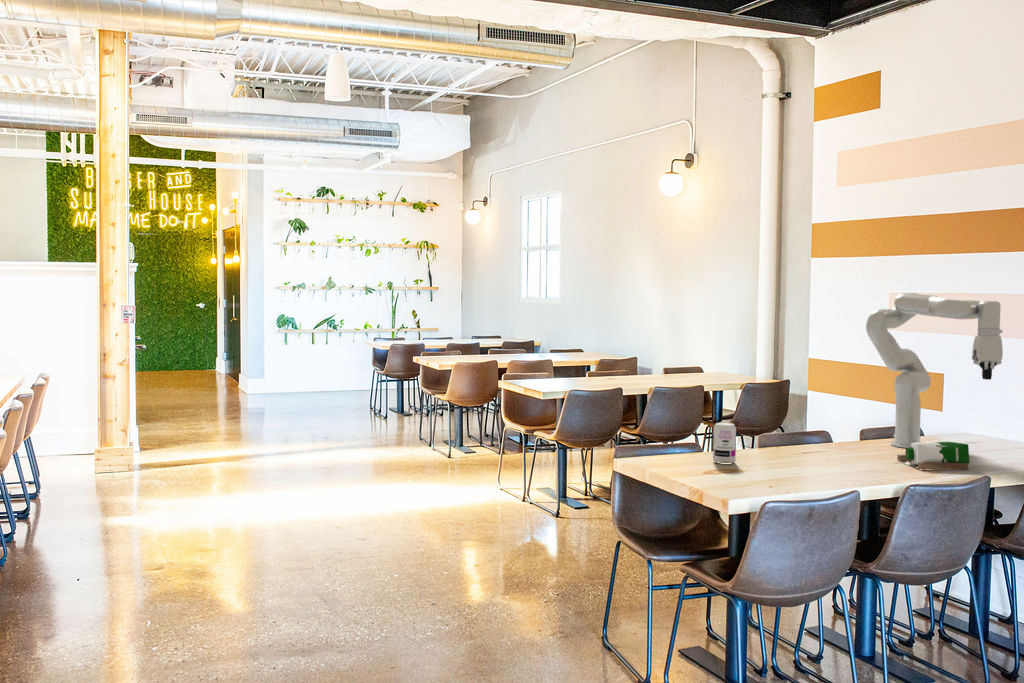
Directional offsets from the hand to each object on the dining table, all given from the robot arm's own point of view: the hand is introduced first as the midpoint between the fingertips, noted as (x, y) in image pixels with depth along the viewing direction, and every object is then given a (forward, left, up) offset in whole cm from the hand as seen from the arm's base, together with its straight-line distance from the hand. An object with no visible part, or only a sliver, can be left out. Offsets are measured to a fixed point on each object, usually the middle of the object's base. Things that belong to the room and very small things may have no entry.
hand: (986, 379), depth 335 cm
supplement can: (+6, -106, -31) cm, 111 cm away
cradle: (+14, -29, -31) cm, 45 cm away
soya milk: (+19, -19, -26) cm, 37 cm away
